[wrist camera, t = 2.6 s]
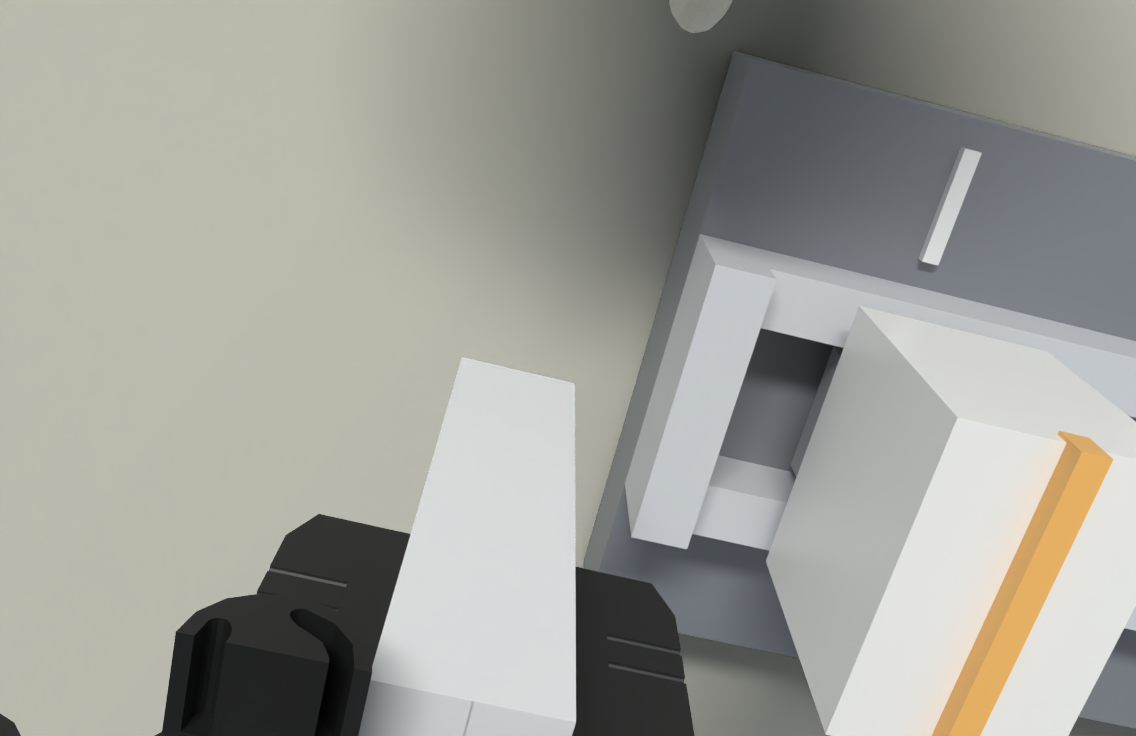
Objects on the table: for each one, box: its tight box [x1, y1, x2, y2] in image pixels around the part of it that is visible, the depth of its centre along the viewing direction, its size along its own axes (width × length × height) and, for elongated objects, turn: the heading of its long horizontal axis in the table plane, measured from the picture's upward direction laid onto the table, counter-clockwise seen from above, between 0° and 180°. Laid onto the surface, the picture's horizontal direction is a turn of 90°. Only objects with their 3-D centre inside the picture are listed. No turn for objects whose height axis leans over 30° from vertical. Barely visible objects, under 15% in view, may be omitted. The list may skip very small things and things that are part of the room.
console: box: [584, 51, 1136, 729], centre depth 20 cm, size 18×11×4 cm, turn 76°
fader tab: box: [766, 306, 1136, 736], centre depth 16 cm, size 3×5×6 cm, turn 166°
